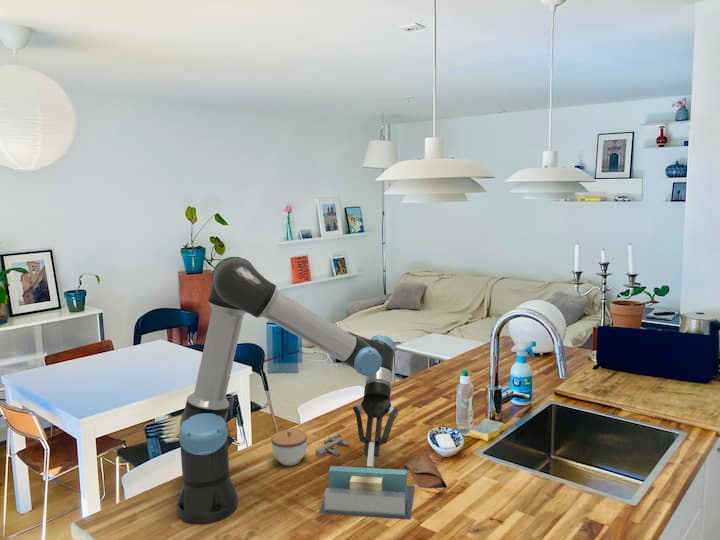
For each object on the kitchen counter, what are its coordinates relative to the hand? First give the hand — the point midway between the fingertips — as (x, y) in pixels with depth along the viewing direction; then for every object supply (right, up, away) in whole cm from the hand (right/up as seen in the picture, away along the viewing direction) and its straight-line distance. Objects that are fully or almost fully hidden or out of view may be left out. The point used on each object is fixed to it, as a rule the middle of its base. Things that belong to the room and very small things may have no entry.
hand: (370, 467), depth 154 cm
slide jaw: (-1, -7, -4) cm, 8 cm away
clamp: (-11, -4, +30) cm, 32 cm away
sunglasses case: (+15, -7, +10) cm, 19 cm away
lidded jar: (-24, -5, +22) cm, 33 cm away
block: (-1, -7, -6) cm, 10 cm away
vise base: (-1, -8, -3) cm, 9 cm away
